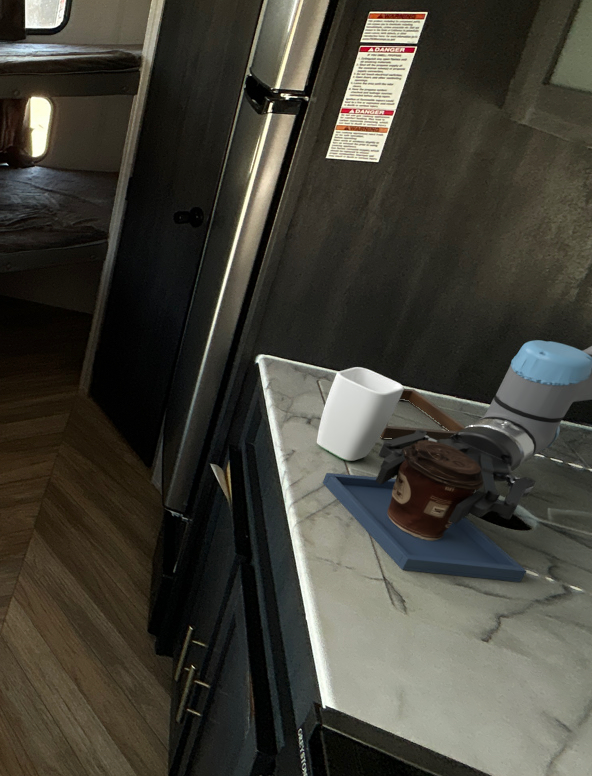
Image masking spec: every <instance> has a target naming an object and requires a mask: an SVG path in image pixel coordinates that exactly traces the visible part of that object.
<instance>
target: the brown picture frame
mask: <svg viewBox="0 0 592 776" xmlns="http://www.w3.org/2000/svg"><path fill="white" fill-rule="evenodd" d="M400 399H405V400H409V401H410V402H411V403H410V402H409V401H406V402H407V403H409V404H410V405H412V406H413V407H414V408H416V409H417V410H418V411H420V412H421V413H422V414H424V415H425V416H426V417H428V418H429V419H430V420H432V421H433V422H434V423H436V424H437V425H439V424H438V423H437V422H439V423H440V424H441V425H442V426H444V427H445V428H447V429H448V430H449V431H448V430H446V429H445V428H443V427H442V426H441V425H439V427H441V428H442V429H435V428H433V429H432V428H420V427H410V426H409V427H407V426H397V425H395V426H394V425H388V424H387V425H386V427H385V429H384V431H383V433H382V434H381V437H382V438H392V439H395V438H399V437H403V436H407V435H410V434H414V433H415V432H416V430H417V429H421V430H424V431H426V432H427V434H426V435H427V436H429V438H432V439H435V440H439V439H448V438H449V437H450V436H452V435H454V434H455V433H457V432H459V431H460V430H462V429H464V428H466V427H467V426H465V425H464V424H463V423H462V422H460V421H458V420H457V419H455V418H454V417H453V416H451V415H450V414H449V413H448V412H446V411H445V410H443V409H442V408H441V407H440V406H437V405H436V404H435V403H433V402H432V401H431V400H430V399H428V398H427V397H425V396H424V395H423V394H421V393H420V392H419V391H417V390H416V389H414V388H404V390H403V392H402V395H401V397H400ZM398 402H402V401H401V400H399V401H398ZM412 403H413V404H414V405H415V406H414V405H413V404H412ZM416 406H417V407H419V408H420V409H421V410H423V411H424V412H426V413H427V414H428V415H430V416H431V417H432V418H434V420H436V421H437V422H435V421H434V420H433V419H431V418H430V417H429V416H427V415H426V414H425V413H423V412H422V411H421V410H419V409H418V408H417V407H416ZM381 437H379V439H381V440H383V439H382V438H381ZM392 439H386V441H388V440H392Z"/></svg>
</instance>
